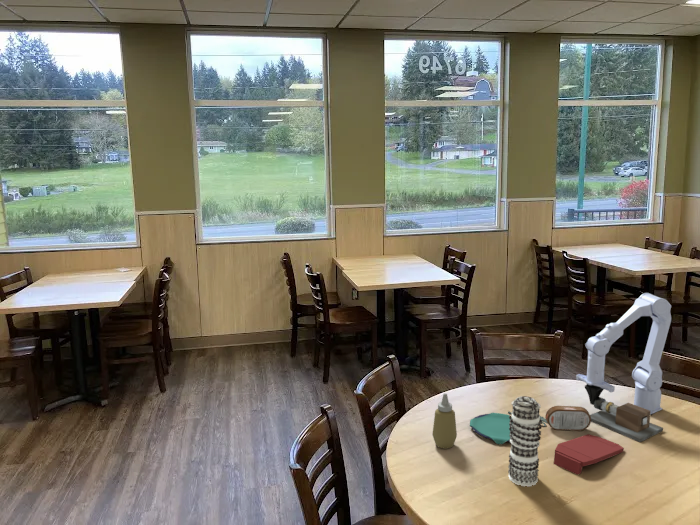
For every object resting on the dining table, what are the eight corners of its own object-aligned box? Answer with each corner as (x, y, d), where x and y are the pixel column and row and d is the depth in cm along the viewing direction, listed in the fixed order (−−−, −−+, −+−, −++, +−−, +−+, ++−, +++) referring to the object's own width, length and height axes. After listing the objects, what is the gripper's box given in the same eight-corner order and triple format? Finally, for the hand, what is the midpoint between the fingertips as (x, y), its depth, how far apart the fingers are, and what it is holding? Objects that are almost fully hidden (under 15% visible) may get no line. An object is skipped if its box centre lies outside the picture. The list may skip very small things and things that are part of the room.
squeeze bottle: (459, 441, 186) (460, 391, 183) (453, 452, 179) (454, 401, 175) (436, 436, 189) (436, 387, 186) (429, 447, 182) (429, 396, 179)
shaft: (600, 406, 205) (601, 395, 204) (648, 425, 190) (649, 413, 189) (593, 409, 203) (594, 398, 202) (640, 428, 188) (641, 416, 187)
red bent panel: (588, 447, 188) (547, 461, 173) (590, 433, 188) (549, 446, 172) (623, 461, 179) (584, 478, 163) (625, 447, 179) (586, 462, 163)
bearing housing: (609, 409, 207) (610, 391, 206) (662, 430, 191) (664, 411, 189) (586, 419, 200) (587, 400, 199) (639, 442, 183) (641, 422, 182)
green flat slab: (458, 426, 197) (458, 420, 197) (519, 408, 211) (519, 402, 211) (498, 451, 180) (499, 444, 179) (561, 430, 194) (561, 424, 194)
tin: (588, 428, 194) (590, 405, 192) (591, 432, 191) (593, 409, 189) (544, 426, 195) (545, 404, 194) (546, 431, 192) (547, 408, 191)
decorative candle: (535, 490, 157) (539, 409, 153) (503, 481, 162) (505, 402, 158) (542, 475, 165) (546, 397, 160) (511, 467, 170) (514, 390, 165)
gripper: (571, 365, 206) (569, 399, 209) (607, 377, 194) (604, 413, 197) (583, 361, 210) (581, 395, 213) (619, 373, 198) (616, 408, 200)
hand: (593, 403), depth 205 cm, fingers closed
